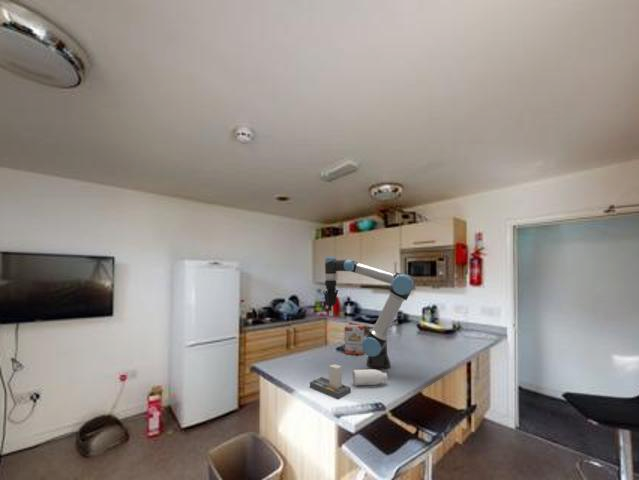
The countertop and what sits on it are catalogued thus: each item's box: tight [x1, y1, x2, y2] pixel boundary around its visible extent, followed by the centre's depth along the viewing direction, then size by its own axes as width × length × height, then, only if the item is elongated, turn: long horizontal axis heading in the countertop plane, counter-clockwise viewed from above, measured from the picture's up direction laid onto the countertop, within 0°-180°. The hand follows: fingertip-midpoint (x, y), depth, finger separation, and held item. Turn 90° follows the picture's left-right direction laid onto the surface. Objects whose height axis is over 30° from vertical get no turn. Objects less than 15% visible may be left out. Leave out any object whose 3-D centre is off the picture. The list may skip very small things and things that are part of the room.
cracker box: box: [344, 323, 365, 356], centre depth 207 cm, size 14×6×21 cm, turn 81°
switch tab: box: [328, 363, 343, 388], centre depth 143 cm, size 5×4×10 cm
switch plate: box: [309, 376, 352, 400], centre depth 145 cm, size 20×10×4 cm, turn 46°
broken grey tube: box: [351, 368, 389, 387], centre depth 151 cm, size 8×19×8 cm, turn 93°
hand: (331, 315), depth 183 cm, fingers closed
